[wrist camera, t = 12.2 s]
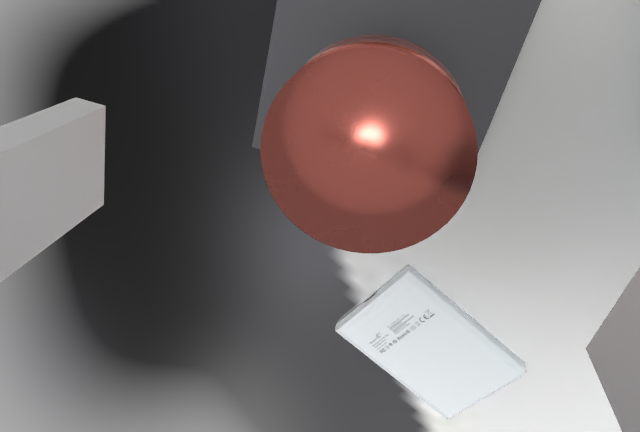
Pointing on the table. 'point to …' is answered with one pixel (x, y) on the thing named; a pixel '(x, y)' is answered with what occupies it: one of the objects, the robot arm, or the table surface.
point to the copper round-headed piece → (369, 145)
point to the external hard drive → (429, 344)
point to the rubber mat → (412, 25)
